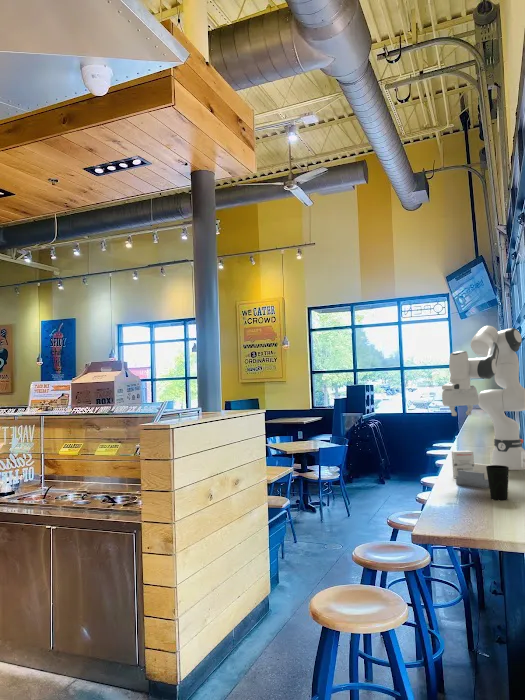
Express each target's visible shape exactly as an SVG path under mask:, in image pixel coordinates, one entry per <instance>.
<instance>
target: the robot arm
mask: <svg viewBox="0 0 525 700" xmlns="http://www.w3.org/2000/svg"><path fill="white" fill-rule="evenodd" d="M522 342H523V338H522V334H521V332H520V331H519V330H518V329H517V328H514V327H510V328H506V329H502V330H499V331H498V330H497V328H496V327H494V326H492V325H485V326H482V327H481V328H480V329H479V330H477V332H476V333H475V334H474V336H473V337H472V338H471V341H470V348H471V350H472V352H473V353H474V354H476V355H477V356H479V357H474V358H469V354H468V351H466V350H458V351H452V352H451V353H450V354H449V359H448V360H449V362H448V363H449V364H448V365H449V373H450V377H449V381H448V382H446V383H444V384H443V385H442V386H441V389H442V392H441V393H442V395H441V398H442V399H441V401H442V405H443V406H444V407H449V410H450V412H451V416H452V417H457V416H458V412H457V411H456V410H455V409H456V407H458V406H459V407H461V406H466V407H467V410H466V411H465V415H466V416H471V415H472V410H473V409H474V408H473V407H474V406H478V407H479V408H480V409H481V410H482V411H484V412H485V413H486V414H487V415H488V417H489V418H490V419H491V421H492V425H493V430H494V439H493V445H494V448H493V449H492V451H491V452H492V453H491V454H492V455H491V456H492V457H491V463H489V465H501V466H507V467H509V471H510V470H511V471H516V470H517V471H519V470H520V471H521V470H522V471H523V470H525V449H524V448H523V447H522V446H523V443H524V439H522V438H520V428H519V427H520V426H519V424H518V422H517V421H516V420H515V419H513V418H511V417H508V416H507V415H506V414H505V412H523V411H525V387H524V386H522V385H521V383H520V378H519V377H520V374H519V373H520V362H519V356H518V354H517V353H516V352H518V351H519V350H520V347H521V346H522ZM493 377H494V382H495V383H496V384H497V386H499V387H500V388H501V389H499V388H497V389H491V388H490V389H485V390H481V391H480V392H479V393H478V391H477V387H476V386H475V385H472V384H471V380H473V379H483V380H484V379H485V380H486V379H488V380H490V379H492V378H493Z"/></svg>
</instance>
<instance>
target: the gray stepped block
mask: <svg viewBox="0 0 525 700" xmlns="http://www.w3.org/2000/svg"><path fill="white" fill-rule="evenodd" d="M455 484H456V485H458V486H465V487H474V488H480V489H490V488H489V482H488V478H487V479H485V478H484V473H479V472H474V471H473V472H471V471H463V470H458V476H456V477H455Z"/></svg>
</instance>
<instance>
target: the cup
mask: <svg viewBox="0 0 525 700" xmlns="http://www.w3.org/2000/svg"><path fill="white" fill-rule="evenodd" d="M488 465H489V466H486V469H487V476H488V482H489V488H488V489H489V495H490V499H491V500H492V499H493V501H498V500H500V501H501V502H503V501H507V500H508V498H509V497H508V493H509V492H508V491H509V471H510V470H509V467H507V466H501V465H490V464H488ZM500 501H499V502H500Z"/></svg>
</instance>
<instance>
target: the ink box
mask: <svg viewBox="0 0 525 700" xmlns="http://www.w3.org/2000/svg"><path fill="white" fill-rule="evenodd" d="M474 460H475V459H474V452H473V451H472V450H452V451H451V464H452V475H453V477H454V478H456V476H458V470H463V471H471V472H473V471H474V464H475V461H474Z"/></svg>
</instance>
